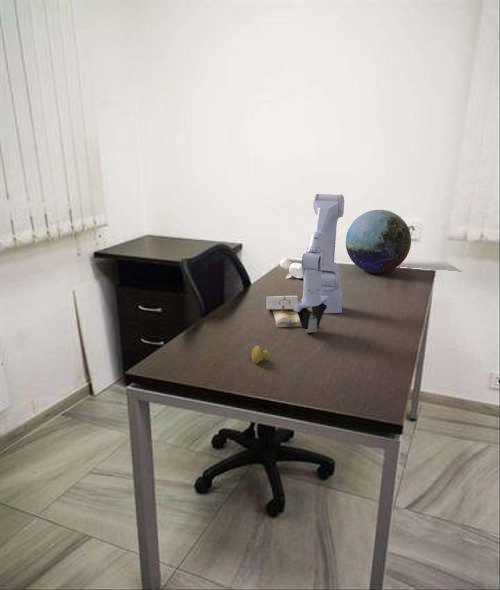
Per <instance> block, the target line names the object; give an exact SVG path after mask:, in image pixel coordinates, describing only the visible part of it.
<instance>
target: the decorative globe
mask: <svg viewBox="0 0 500 590" xmlns="http://www.w3.org/2000/svg"><path fill="white" fill-rule="evenodd" d="M411 246H412V235H411V230H410V228H409V226H408V224H407V223H406V222H405V220H404V219H403V218H402V217H401V216H400V215H398V214H397V213H395V212H393V211H390V210H387V209H372V210H369V211H365V212H364V213H362V214H360V215H359V216H358V217H356V219H354V221H352V223H351V224H350V225H349V228H348V230H347V233H346V237H345V248H346V253H347V255H348V257H349V259H350V260H351V262H352V263H353V265H355V266H356V267H357V268H359V269H361V270H363V271H364V272H367V273H372V274H383V273H387V272H390V271H392V270H394V269H396V268H397V267H399V266H400V265H401V264H403V262H405V260H406V259H407V257H408V255H409V253H410V249H411Z"/></svg>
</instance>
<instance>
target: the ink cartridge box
mask: <svg viewBox="0 0 500 590" xmlns="http://www.w3.org/2000/svg"><path fill="white" fill-rule="evenodd" d="M265 297H266V299H265V300H266V301H265V302H266V303H265V304H266V305H265V306H266V308H265V309H266V310H279V309H294V305H295V304H297V303H299V296H298V295H282V296H281V295H277V296H265Z"/></svg>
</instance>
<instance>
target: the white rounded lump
mask: <svg viewBox="0 0 500 590" xmlns="http://www.w3.org/2000/svg"><path fill="white" fill-rule="evenodd" d="M279 266H280V268H282V269H284V270H286V271H287V270H288V272H289V273H288V274H287V275H286V276H285V279H286V280H288V279H290V278H292V277H294V278H296V279H303V280H304V275H303V274H302V263H299V262H292V261H291V259H290V258H288V257H287V258H285V257H284V258H282V259H281V260H280V262H279Z"/></svg>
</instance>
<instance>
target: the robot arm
mask: <svg viewBox="0 0 500 590" xmlns="http://www.w3.org/2000/svg"><path fill="white" fill-rule="evenodd" d="M312 201H313V203H312V205H313V210H314V213H315V215H316V220H315V221H316V222H315V228H314V232H312V233H311V234H310V235H309V239H308V244H307V248H306V250H305V251H306V252H305V253H304V252H303V254H302V257H301V264H302V274H303V275H304V279H303V287H302V290H303V291H302V298H301V301H298V303H297V304H295V305H294V311H296V312H297V314H298V316H299V318H300V321H301V325H302V326H301V328H302V329H303V330H305V329H306V330H307V329H308V325H309V318H310V315H315V316H316V318H317V326H319V325H320V324H321V323H320V322H321V321H322V318H323V315H324V314H342V313H343V311H342V309H343V296H344V295H343V289H342V287H341V283H342V269H341V266H340V265H338V264H337V263H336V262H335V254H336V240H337V239H336V236H337V225H338V221H339V218H342V217H343V216H344V212H345V211H344V210H345V209H344V208H345V196H344V195H343V194H328V193H327V194H324V193H316V194H315V195H314V198H313V200H312ZM308 308H312V309H311V310H312V311H310V310H309V309H308Z"/></svg>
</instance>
